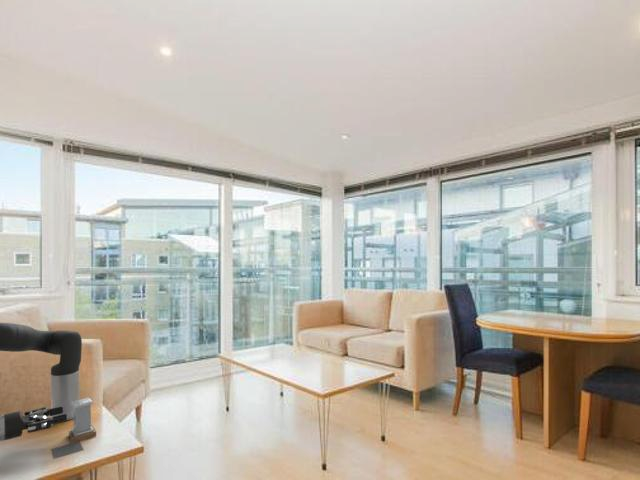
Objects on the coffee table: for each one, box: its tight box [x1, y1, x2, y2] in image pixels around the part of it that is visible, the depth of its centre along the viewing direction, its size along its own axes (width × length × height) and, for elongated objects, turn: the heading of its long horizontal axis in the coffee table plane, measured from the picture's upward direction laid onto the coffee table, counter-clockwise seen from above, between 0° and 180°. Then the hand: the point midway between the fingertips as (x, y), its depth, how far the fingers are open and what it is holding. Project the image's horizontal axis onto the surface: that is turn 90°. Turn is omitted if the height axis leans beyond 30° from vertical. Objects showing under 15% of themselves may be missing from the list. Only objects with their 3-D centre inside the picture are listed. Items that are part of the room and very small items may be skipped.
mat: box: [50, 440, 85, 460], centre depth 127 cm, size 8×8×1 cm
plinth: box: [68, 424, 97, 443], centre depth 137 cm, size 7×7×2 cm
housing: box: [70, 397, 94, 437], centre depth 137 cm, size 6×6×10 cm
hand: (64, 413), depth 134 cm, fingers open, 8 cm apart
